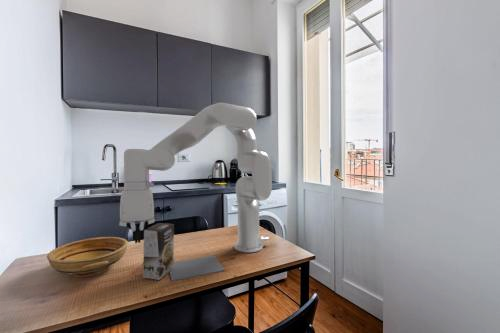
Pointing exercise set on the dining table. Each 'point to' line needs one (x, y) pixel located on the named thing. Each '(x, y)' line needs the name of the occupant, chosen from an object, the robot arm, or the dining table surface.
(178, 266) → the grey mat
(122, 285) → the dining table surface
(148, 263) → the coffee box
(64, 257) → the brown oval basket
